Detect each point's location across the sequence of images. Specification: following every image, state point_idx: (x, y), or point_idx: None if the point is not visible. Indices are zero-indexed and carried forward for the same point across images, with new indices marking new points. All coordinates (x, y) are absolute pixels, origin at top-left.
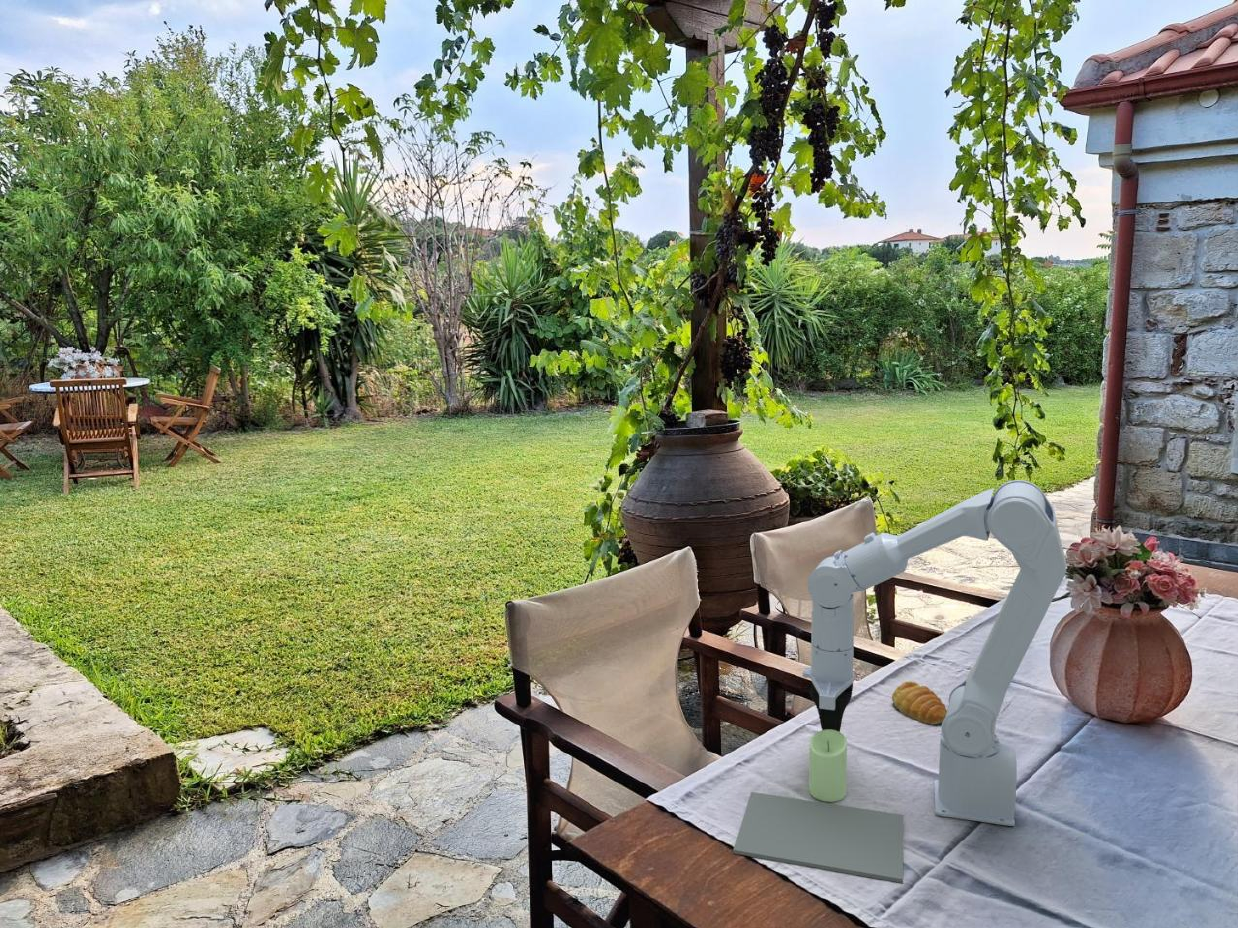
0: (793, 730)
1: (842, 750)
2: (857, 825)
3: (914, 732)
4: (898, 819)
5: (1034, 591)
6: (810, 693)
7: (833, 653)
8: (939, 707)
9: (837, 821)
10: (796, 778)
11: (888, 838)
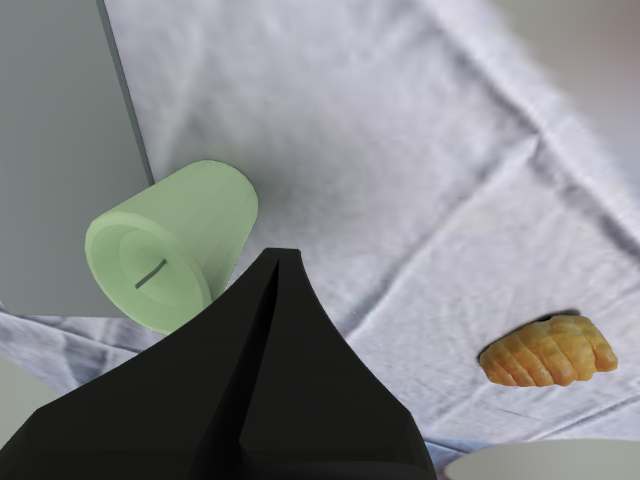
0: (512, 98)
1: (130, 316)
2: None
3: (460, 333)
4: None
5: None
6: (14, 453)
7: None
8: (508, 384)
9: None
10: (249, 122)
11: (105, 300)
